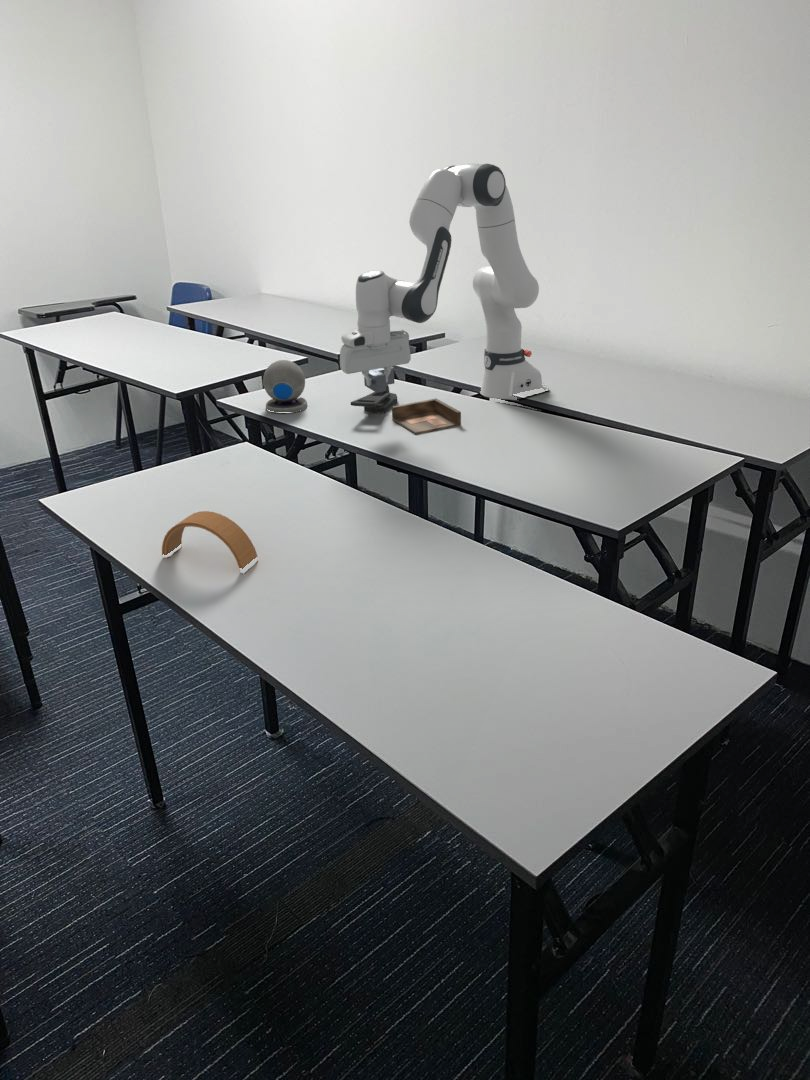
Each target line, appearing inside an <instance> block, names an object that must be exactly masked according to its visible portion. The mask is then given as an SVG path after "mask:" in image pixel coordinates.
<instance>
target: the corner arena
mask: <svg viewBox="0 0 810 1080" xmlns="http://www.w3.org/2000/svg"><path fill="white" fill-rule="evenodd" d="M391 413H392V416H391V419H392V421H394V422H395V423H397V424H399V425H400V426H401V427H403V428H404V429H406V430H408V431H409V432H410V433H412V434H413V435H420V434H425V433H429V432H435V431H439V430H446V429H450V428H455V427H460V426H462V412H461V411H460V410H458V409H457V408H455V407H453V406H451V405H449V404H448V403H446V402H443V401H442V400H440V399H438V398H430V399H425V400H420V401H415V402H409V403H404V404H403V403H402V404H398V405H394V406H392V408H391Z"/></svg>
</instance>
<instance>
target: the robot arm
mask: <svg viewBox="0 0 810 1080" xmlns="http://www.w3.org/2000/svg"><path fill="white" fill-rule="evenodd" d="M506 183H507V182H506V177H505V174H504V172H503V171H502V169H501V168H500V167H498V166H497V165H495V164H492V163H491V164H490V163H476V162H475V163H472V162H471V163H466V164H460V165H450V166H448V167H447V166H446V167H445V168H437V169H436V170H434V171H433V172H432V173H431V174H430V175H429V177H428V178H427V180H426V181H425V183H424V184H423V186H422V188H421V189H420V192H419V193H418V196H417V198H416V200H415V202H414V205H413V207H412V209H411V212H410V215H409V223H408V224H409V227H410V231H411V232H412V233H413V235H414V236H415V238H417V239H418V241H420V242H421V243H422V244H424V246H426V256H425V260H424V263H423V267H422V270H421V273H420V276H419V279H418V280H416V281H414V282H411V281H405V280H401V279H397V278H393V277H391V276H389V275H387V274H386V273H385V272H384V271H382V270H371V271H370V270H368V271H367V272H364V273H363V272H362V273H361V274H360V275H359V276H358V277H357V279H356V284H355V304H356V305H355V307H356V311H357V316H358V317H357V323H356V324H357V327H355V328H354V329H352V330H350V331H348V332H346V333H344V334H343V335H341V338H340V339H341V343H343V344H342V346H341V347H340V351H339V367H340V370H341V371H342V372H343V373H345V374H347V375H351V374H356V373H361V374H362V376H363V378H364V377H365V378H366V384H367V385H368V386H371V385H374V383H373V379H372V378H369V376H368V375H367V374H369V370H374V369H379V368H384V369H385V371H384V375H385V376H386V383H388V376H389V374H390V372H391V367H395V366H400V365H406V364H409V363H410V361H411V358H412V356H411V355H412V354H411V349H410V344H409V342H410V334H409V333H408V332H407V331H406V330H404V329H400V330H393V331H392V330H391V321H390V318H391V317H396V318H398V319H404V320H408V321H411V322H414V323H417V324H424V323H426V322H427V321H429V320H430V318H431V317H433V315H434V314H435V312H436V310H437V306H438V301H439V300H438V299H439V293H440V288H441V285H442V281H443V278H444V273H445V270H446V268H447V267H446V266H447V264H448V263H447V262H448V259H449V255H450V251H451V247H452V235H451V232H450V228H451V224H452V221H453V219H454V216H455V214H456V211H457V208H458V207H462V208H463V207H464V208H466V207H467V208H472V207H474V210H475V217H476V219H475V220H476V226H477V233H478V238H479V245H480V251H481V253H482V256H483V257H485V259H486V260H487V262H488V264H489V265H485V266H482V267H480V268H479V269H478V270H477V271H476V272H475V273H474V276H473V279H472V288H473V291H474V293H475V294H476V296H477V297H478V299H479V302H480V306H481V308H482V309H481V310H482V313H483V317H484V322H485V349H484V353H483V355H484V357H483V363H484V373H483V379H482V385H481V388H480V390H481V391H479V393H480V395H482V396H483V397H485V398H490V399H497V400H498V399H499V400H510V401H518V400H517V397H516V396H515V397H514V396H512V395H513V394H517V393H520V392H525V391H530V390H534V389H540V388H543V389H544V390H546V389H550V388H549V386H548V385H547V384H546V383H543V379H542V373H541V371H540V370H539V369H538V368H537V367H535V366H534V365H533V364H532V363H530V362H529V361H528V360H526V357H527V358H530V357H531V356H532V354H533V353H532V351H531V350H529V349H523V348H522V333H523V332H522V327H523V326H522V322H521V321H520V319H519V318H518V316H517V314H516V311H515V309H525V308H529V307H531V306H533V304H534V303H535V302H536V300H537V299H538V296H539V292H540V285H539V283H538V280H537V279H536V277H534V275H533V274H532V272H531V271H530V269H529V267H528V266H527V263H526V260H525V259H524V256H523V253H522V251H521V248H520V244H519V240H518V232H517V226H516V220H515V210H514V206H513V202H512V198H511V195H510V191H509V188H508V186H507V185H506ZM543 386H546V387H543Z"/></svg>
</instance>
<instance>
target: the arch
mask: <svg viewBox="0 0 810 1080" xmlns="http://www.w3.org/2000/svg"><path fill="white" fill-rule="evenodd" d="M188 527H193V528H199V529H202V530H205V531H207V532H210V533H211V534H213V536H215V537H217V538H218V539H220V541H222V542H223V543H224V544H225V545H226V547H227V548H228V549H229V551H230V552H231V553H232V555H233V557H234V559H235V561H236V563H237V566H238V569H239V568H242V569H243V568H244V567H245V566H246V565H247V564H249V563H250V562H251V561H252V560H253V559H255V558H256V557H258V554H257V550H256V547H255V546H254V544H253V542H252V540H251V539H250V538H249V536H248V534H247V533H246V532H245V530H243V528H241V526H240V525H238V524H237V523H236V522H235V521H233V520H232V519H231V518H229V517H227V516H226V515H223V514H221V513H219V512H214V511H209V510H206V511H205V510H203V511H197V512H194V513H192V514H190V515H188V516H187V517H186V518H184V519H182V520H181V521H179V522H177V523H176V524H175V525H174V526H172V527H171V528H170V529H169V530H168V531H167V532H166V534H165V535H164V538H163V541H162V545H161V556H162V555H163V554H164V555H167V554H168V553H170V552H171V551H173V550H174V549H175V548H177V547H178V546H179V545H180V544H182V543H183V542H182V538H183V533H184V530H185V528H188Z"/></svg>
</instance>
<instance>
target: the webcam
mask: <svg viewBox="0 0 810 1080" xmlns="http://www.w3.org/2000/svg"><path fill="white" fill-rule="evenodd" d="M305 377H306V376H305V374H304V372H303V369H302V368H301V367H300V366H299V365H298V363H295V362H294V361H291V360H288V359H280V360H276V361H274V362H272V363H271V364H270V365H269V366H267V367H266V369H265V371H264V374H263V378H262V384H263V388H264V390H265V392H266V394H267V395H268V396H269V397H270V398H271V399H269V400H268V401H267V402H266V404H265V409H268V410H270V411H274V412H296V411H300V410H302V411H304V410H306V409H307V408H308V401H307V399H305V398H304V397H301V395H302V394H303V392H304V390H305V386H306V379H305ZM306 407H307V408H306ZM305 408H306V409H305ZM303 409H304V410H303ZM300 412H301V411H300ZM296 413H297V412H296Z"/></svg>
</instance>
